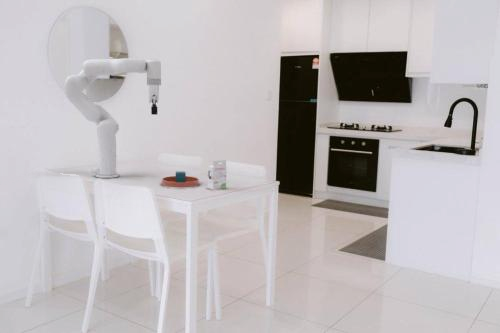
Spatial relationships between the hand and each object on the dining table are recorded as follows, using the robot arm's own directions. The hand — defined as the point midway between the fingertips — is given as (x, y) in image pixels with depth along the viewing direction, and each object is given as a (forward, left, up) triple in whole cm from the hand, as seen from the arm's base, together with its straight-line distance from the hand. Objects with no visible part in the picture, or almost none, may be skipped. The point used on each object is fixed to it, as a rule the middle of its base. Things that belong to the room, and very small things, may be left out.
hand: (154, 114), depth 260 cm
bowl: (+14, -22, -35) cm, 44 cm away
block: (+14, -22, -35) cm, 44 cm away
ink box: (+32, -32, -36) cm, 58 cm away
